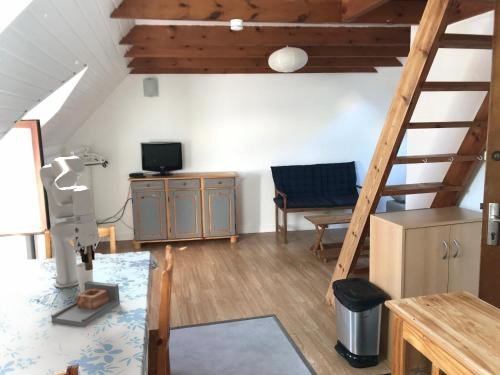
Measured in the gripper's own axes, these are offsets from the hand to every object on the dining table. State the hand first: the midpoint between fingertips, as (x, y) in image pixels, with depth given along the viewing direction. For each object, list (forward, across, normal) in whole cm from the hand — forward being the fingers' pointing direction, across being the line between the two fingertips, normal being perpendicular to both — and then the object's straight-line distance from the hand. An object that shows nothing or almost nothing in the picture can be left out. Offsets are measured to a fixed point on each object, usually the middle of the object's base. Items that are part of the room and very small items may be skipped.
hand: (88, 260), depth 173 cm
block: (+19, 0, 0) cm, 19 cm away
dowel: (+4, 0, 0) cm, 4 cm away
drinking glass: (+21, +11, +13) cm, 27 cm away
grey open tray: (+21, -4, 0) cm, 22 cm away
